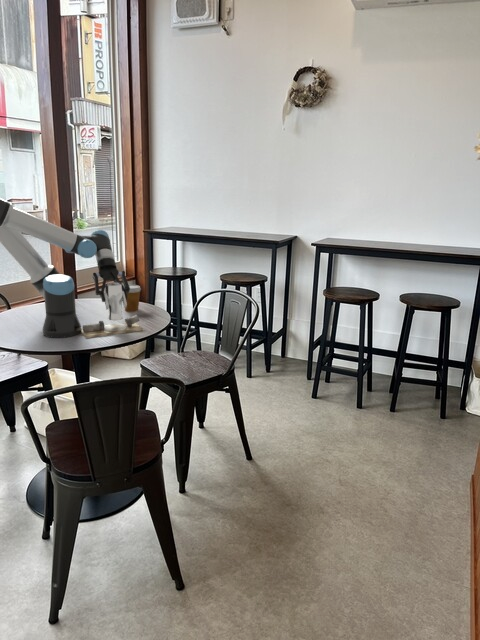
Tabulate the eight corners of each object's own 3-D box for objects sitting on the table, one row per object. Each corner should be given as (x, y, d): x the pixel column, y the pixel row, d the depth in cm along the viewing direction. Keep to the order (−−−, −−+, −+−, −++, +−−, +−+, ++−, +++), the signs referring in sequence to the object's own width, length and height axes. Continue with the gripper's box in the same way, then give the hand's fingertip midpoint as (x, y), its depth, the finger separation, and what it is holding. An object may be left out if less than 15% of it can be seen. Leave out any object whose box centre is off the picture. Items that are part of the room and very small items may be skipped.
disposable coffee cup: (143, 308, 242) (143, 285, 239) (138, 313, 233) (137, 289, 230) (125, 307, 243) (124, 284, 240) (119, 312, 234) (118, 288, 231)
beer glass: (127, 318, 205) (125, 283, 201) (115, 321, 200) (113, 286, 195) (115, 315, 209) (113, 281, 205) (103, 319, 203) (101, 284, 199)
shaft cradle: (86, 338, 194) (85, 324, 193) (79, 331, 202) (78, 318, 201) (143, 330, 207) (143, 317, 205) (135, 324, 215) (134, 312, 213)
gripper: (127, 265, 216) (138, 309, 207) (81, 268, 207) (91, 314, 198) (129, 255, 210) (141, 300, 201) (83, 258, 201) (93, 304, 192)
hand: (116, 306), depth 199 cm, fingers closed on beer glass, 7 cm apart
